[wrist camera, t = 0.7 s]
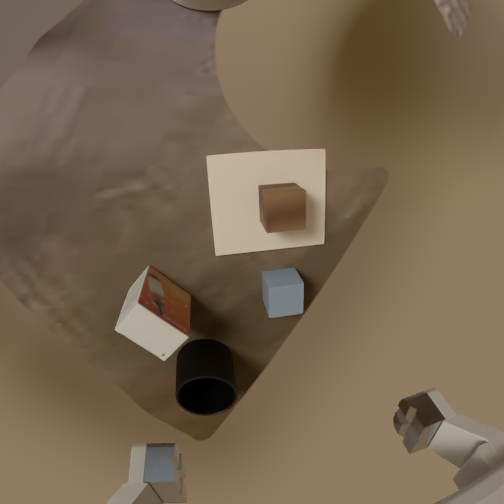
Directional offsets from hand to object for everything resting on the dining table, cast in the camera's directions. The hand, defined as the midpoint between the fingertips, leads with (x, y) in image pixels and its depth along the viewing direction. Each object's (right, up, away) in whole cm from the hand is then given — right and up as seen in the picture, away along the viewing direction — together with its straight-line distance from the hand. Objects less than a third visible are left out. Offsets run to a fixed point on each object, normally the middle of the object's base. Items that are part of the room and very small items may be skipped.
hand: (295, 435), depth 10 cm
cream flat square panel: (+1, +13, +34) cm, 37 cm away
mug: (-11, -13, +44) cm, 47 cm away
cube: (+3, +1, +40) cm, 40 cm away
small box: (-15, 0, +37) cm, 40 cm away
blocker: (+2, +13, +34) cm, 37 cm away
